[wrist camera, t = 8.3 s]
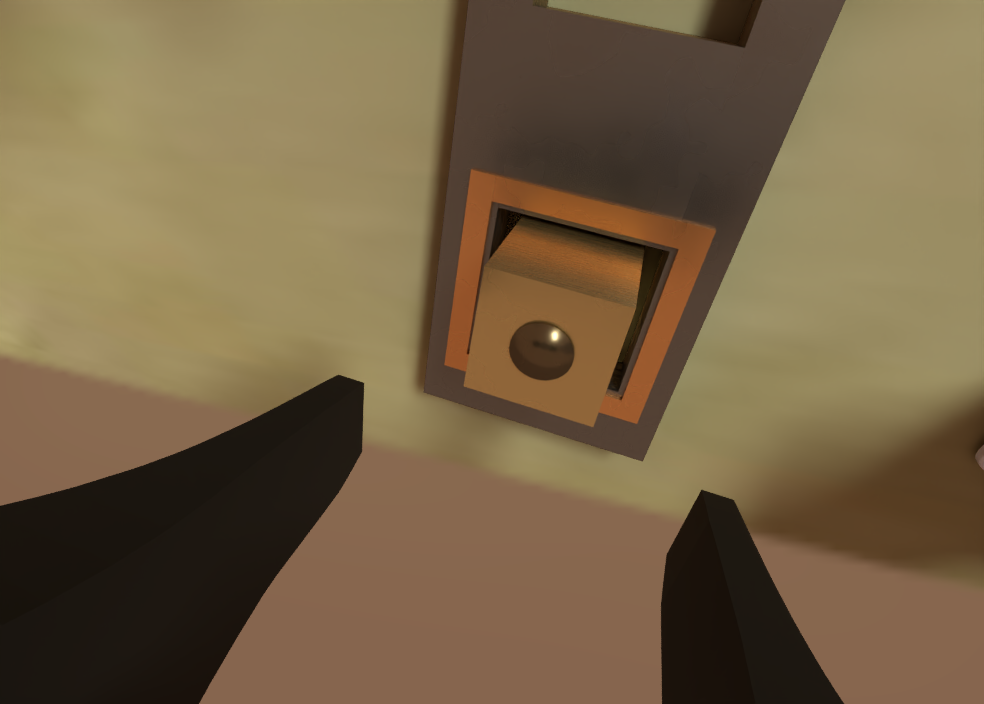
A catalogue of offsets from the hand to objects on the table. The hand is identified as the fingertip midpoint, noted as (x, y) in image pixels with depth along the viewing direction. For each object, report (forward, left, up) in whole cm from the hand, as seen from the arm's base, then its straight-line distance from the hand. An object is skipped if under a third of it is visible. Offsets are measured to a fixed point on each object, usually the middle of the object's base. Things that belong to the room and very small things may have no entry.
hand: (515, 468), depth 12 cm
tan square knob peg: (0, 0, -10) cm, 10 cm away
